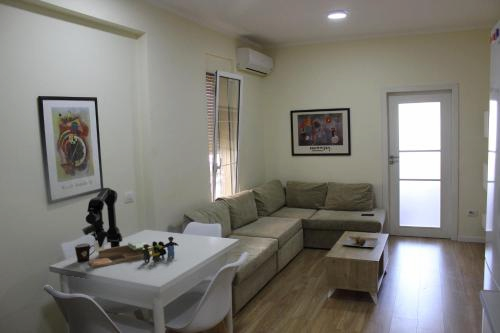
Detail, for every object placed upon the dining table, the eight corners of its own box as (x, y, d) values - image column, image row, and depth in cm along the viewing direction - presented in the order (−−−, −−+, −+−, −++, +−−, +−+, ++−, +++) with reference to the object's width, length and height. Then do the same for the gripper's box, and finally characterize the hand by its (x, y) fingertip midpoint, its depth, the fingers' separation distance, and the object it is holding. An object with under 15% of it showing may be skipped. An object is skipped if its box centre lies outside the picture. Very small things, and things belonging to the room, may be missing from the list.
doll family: (171, 254, 261) (170, 233, 260) (180, 256, 255) (179, 235, 254) (139, 264, 243) (138, 241, 242) (149, 266, 237) (147, 243, 236)
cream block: (94, 250, 245) (93, 240, 244) (102, 248, 247) (101, 239, 247) (96, 251, 241) (95, 242, 241) (104, 250, 244) (103, 240, 243)
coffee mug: (74, 264, 248) (73, 247, 247) (77, 260, 256) (76, 244, 255) (94, 262, 250) (93, 245, 249) (97, 258, 258) (96, 242, 257)
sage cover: (128, 246, 259) (128, 242, 259) (145, 243, 265) (145, 239, 265) (134, 249, 250) (133, 245, 250) (151, 246, 257) (151, 242, 256)
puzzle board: (88, 263, 247) (87, 252, 247) (144, 252, 267) (143, 241, 266) (94, 269, 237) (93, 257, 236) (151, 257, 256) (150, 246, 255)
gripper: (79, 219, 246) (81, 245, 247) (86, 225, 231) (88, 252, 232) (98, 217, 252) (100, 242, 254) (107, 221, 237) (109, 248, 238)
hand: (99, 246), depth 244 cm, fingers closed on cream block, 4 cm apart
